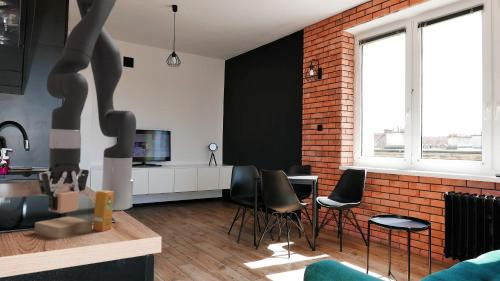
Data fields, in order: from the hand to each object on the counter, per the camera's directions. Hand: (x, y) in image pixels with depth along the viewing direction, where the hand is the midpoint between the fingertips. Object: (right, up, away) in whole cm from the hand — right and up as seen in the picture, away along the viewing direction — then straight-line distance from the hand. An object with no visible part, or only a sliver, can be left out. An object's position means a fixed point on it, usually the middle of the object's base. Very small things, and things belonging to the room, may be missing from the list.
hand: (63, 208), depth 95 cm
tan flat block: (+5, -5, -9) cm, 11 cm away
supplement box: (+13, -5, -5) cm, 14 cm away
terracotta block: (0, -1, 0) cm, 1 cm away
